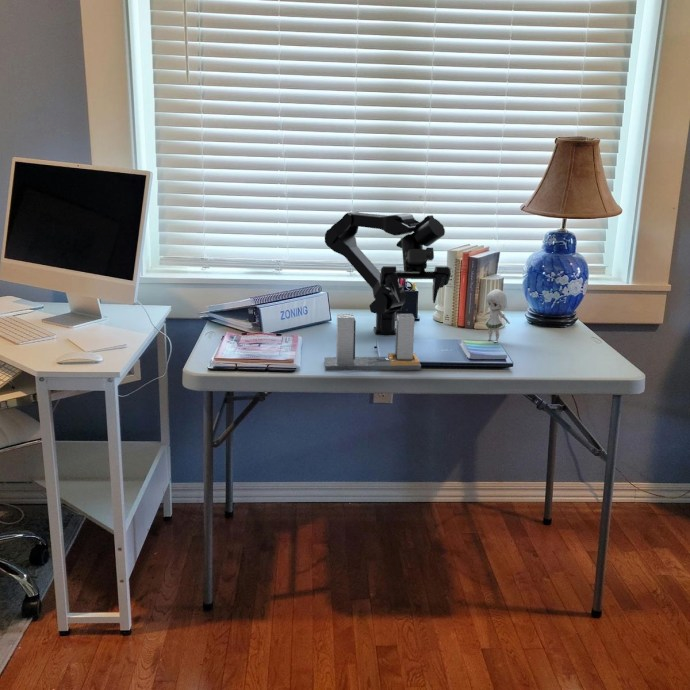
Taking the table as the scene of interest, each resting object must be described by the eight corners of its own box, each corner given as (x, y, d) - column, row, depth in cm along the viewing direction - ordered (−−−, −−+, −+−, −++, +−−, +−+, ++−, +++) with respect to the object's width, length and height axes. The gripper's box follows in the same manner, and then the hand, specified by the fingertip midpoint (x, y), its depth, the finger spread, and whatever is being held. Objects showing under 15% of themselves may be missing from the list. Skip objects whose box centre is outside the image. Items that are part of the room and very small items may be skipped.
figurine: (472, 338, 223) (476, 287, 219) (486, 335, 227) (490, 284, 222) (501, 347, 215) (505, 294, 211) (515, 343, 219) (519, 291, 215)
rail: (324, 361, 200) (324, 312, 197) (416, 361, 202) (418, 312, 198) (325, 370, 193) (325, 319, 190) (420, 370, 195) (423, 319, 191)
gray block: (394, 358, 200) (396, 313, 196) (410, 358, 200) (412, 313, 196) (396, 363, 196) (398, 317, 192) (412, 363, 196) (414, 317, 192)
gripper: (382, 236, 206) (385, 286, 199) (451, 236, 207) (457, 286, 200) (378, 260, 216) (381, 308, 209) (444, 260, 217) (449, 308, 210)
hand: (417, 302), depth 207 cm, fingers open, 9 cm apart
